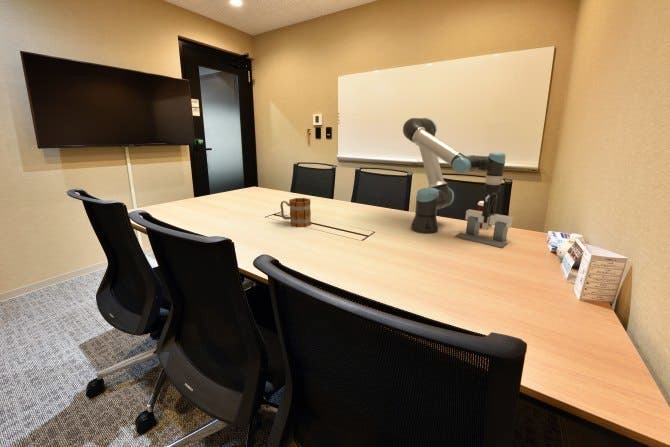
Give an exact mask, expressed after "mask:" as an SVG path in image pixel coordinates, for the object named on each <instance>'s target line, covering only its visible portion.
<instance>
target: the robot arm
mask: <svg viewBox="0 0 670 447" xmlns="http://www.w3.org/2000/svg"><path fill="white" fill-rule="evenodd" d="M402 133H403V136H404V137H405V138H406V139H407V140H409V141H410V142H411V143H413V144H415V145H416V146H417V147H418V148H419V152H420V155H421V156H420V157H421V159H422V163H423V167H424V168H423V169H424V172H425V176H426V179H427V182H428V186H427V187H423V188H420V189H418V190H417V192H416V197H415V198H416V199H415V201H416V202H415V210H414V211H415V213H414V217H413V219H412V222H411V227H410V229H411V230H412V231H414V232H416V233H421V234H435V233H438V232H439V223H438V218H437V212H438V210H439V209H440V210H441V209H443V208H447V207H449V206H450V205H451V204H453V202H454V200H455V194H454V191H453V190H452V189H451V188H450V187H449V184H448V182H446V181H445V179H444V176H443V173H442V168H441V165H440V161H439V159H441V160H442V161H444V162H445V163H447V164H448V165H449V166H451V167H452V170H453V171H454V172H455V173H457V174H465V173H468V172H475V171H479V172H486V175H485V181H484V182H485V184H484V188H483V190H484V191H485V192H487V193H486V194H485V197H483V201H484V205H483V212H482V216H484V217H483V224H482V228H481V229H483V228H484V229H485V230H488V229H489V227H490V228H491V227H492V226H493V225H491V224H489V213H493V214H497V213H496V209H497V204H498V203H497V202H498V198H499V194H497V193H500V192H501V190H502V185H501V184H502V183H503V180H504V177H503V176H504V171H505V169H504V168H505V164H506V154H505V153H504V152H489V153H488V155H486V156H485V155H473V154H472V155H470V154H469V155H464V154H463V153H462V152H460V151H458V150H457V149H455V148H454V147H452V146H451V145H449V144H447V143H446V142H444V141H442V140H441V139H439V138H438V137H437V136H436V134H437V125H436V123H435V121H434V120H433V119H431V118H427V117H422V118H421V117H412V118H409V119H407V121H405V122H404V124H403V126H402Z"/></svg>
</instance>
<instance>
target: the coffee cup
mask: <svg viewBox="0 0 670 447" xmlns="http://www.w3.org/2000/svg"><path fill="white" fill-rule="evenodd" d="M483 205H484V200H480V201H478V203H477V211H482V212H483ZM482 224H483V223H481V222H480V229H484V228H482Z"/></svg>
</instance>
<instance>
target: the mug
mask: <svg viewBox="0 0 670 447" xmlns="http://www.w3.org/2000/svg"><path fill="white" fill-rule="evenodd" d="M283 203H285V204H286V206H287V207H289V217H286V216H285V215H284V205H283ZM280 214H281V218H282V219H283V220H284V221H285V220H290V225H291V226H290V227H293V226H294V228H307V227H310V226H312V220H311V215H312V212H311V199H310V198H307V197H294V198H291V199H289V202H288V201H286V200H283V201H281V202H280Z"/></svg>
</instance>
